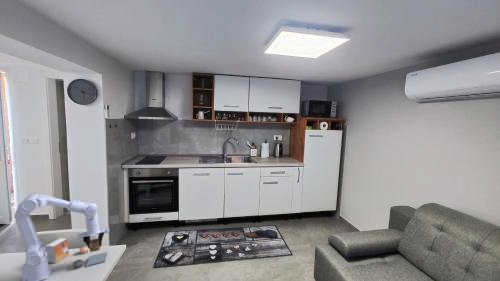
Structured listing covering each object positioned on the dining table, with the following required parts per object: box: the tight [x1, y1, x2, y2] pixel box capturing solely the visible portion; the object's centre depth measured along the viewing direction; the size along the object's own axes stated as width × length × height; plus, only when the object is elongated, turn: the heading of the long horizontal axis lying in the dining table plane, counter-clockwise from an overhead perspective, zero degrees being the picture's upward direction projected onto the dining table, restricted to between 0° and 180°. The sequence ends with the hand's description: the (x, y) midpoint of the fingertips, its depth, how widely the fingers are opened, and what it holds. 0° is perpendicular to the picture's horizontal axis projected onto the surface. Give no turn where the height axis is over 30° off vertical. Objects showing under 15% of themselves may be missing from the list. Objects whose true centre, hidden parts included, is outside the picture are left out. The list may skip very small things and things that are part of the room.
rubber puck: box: [72, 259, 83, 270], centre depth 122 cm, size 4×4×3 cm
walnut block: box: [89, 238, 102, 253], centre depth 127 cm, size 4×4×5 cm
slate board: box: [85, 251, 108, 268], centre depth 128 cm, size 9×9×1 cm
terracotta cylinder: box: [79, 245, 89, 255], centre depth 135 cm, size 4×4×3 cm
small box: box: [45, 237, 70, 264], centre depth 129 cm, size 8×6×10 cm
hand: (95, 246), depth 127 cm, fingers closed on walnut block, 4 cm apart
